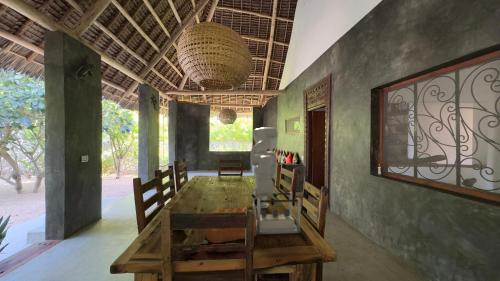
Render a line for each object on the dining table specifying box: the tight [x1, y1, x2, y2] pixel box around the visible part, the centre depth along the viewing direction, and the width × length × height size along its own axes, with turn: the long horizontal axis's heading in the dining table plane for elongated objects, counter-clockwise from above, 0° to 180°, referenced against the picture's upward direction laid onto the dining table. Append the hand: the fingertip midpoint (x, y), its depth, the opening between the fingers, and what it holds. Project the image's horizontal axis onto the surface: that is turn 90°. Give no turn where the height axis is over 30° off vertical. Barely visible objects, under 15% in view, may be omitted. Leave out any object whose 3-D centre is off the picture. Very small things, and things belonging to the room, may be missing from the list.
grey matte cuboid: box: [283, 208, 289, 216], centre depth 137 cm, size 2×3×4 cm, turn 97°
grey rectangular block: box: [260, 209, 268, 217], centre depth 135 cm, size 2×3×4 cm, turn 97°
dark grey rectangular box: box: [272, 209, 279, 217], centre depth 136 cm, size 2×3×4 cm, turn 97°
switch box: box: [260, 213, 295, 230], centre depth 136 cm, size 10×20×6 cm, turn 97°
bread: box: [205, 206, 258, 244], centre depth 123 cm, size 14×26×16 cm, turn 110°
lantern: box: [181, 210, 209, 245], centre depth 122 cm, size 8×17×30 cm
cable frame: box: [252, 191, 301, 235], centre depth 135 cm, size 17×25×19 cm
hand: (264, 205), depth 135 cm, fingers open, 9 cm apart
